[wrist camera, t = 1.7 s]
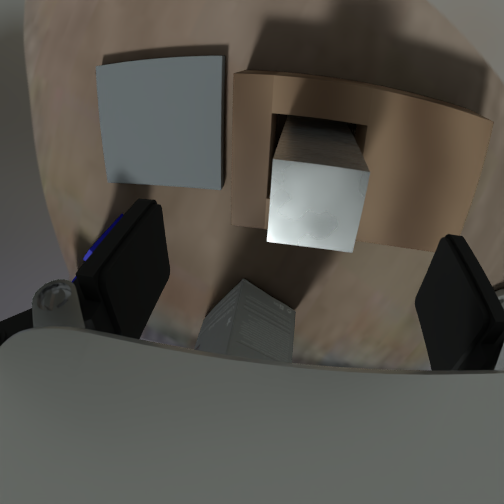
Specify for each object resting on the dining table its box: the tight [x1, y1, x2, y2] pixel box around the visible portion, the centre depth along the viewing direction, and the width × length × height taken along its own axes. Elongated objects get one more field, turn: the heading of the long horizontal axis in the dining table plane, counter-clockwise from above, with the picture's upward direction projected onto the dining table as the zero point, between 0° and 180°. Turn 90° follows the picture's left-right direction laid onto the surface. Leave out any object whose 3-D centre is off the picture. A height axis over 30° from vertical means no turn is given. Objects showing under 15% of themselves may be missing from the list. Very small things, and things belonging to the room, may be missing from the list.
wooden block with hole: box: [231, 70, 494, 252], centre depth 20 cm, size 16×10×4 cm, turn 88°
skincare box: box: [194, 279, 296, 363], centre depth 26 cm, size 8×7×16 cm
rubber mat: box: [96, 56, 225, 190], centre depth 22 cm, size 10×10×1 cm
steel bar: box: [267, 115, 370, 253], centre depth 18 cm, size 4×4×10 cm
